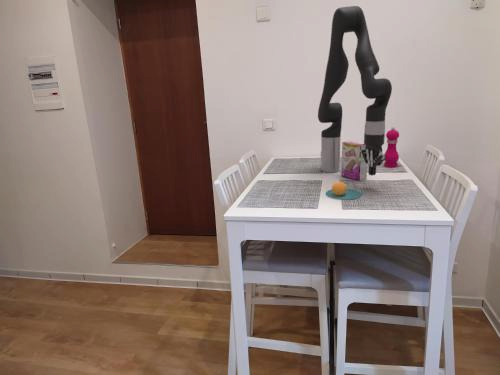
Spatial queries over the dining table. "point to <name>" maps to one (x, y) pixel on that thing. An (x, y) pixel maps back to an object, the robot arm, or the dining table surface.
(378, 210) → the dining table surface
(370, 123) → the robot arm
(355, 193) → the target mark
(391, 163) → the pepper mill
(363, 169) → the candy bar box
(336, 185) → the ball
